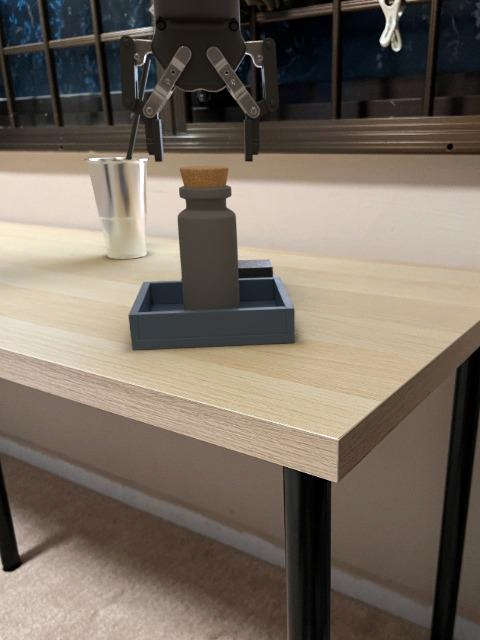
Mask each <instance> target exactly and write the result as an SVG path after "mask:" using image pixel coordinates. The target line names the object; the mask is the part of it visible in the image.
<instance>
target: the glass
mask: <svg viewBox="0 0 480 640" xmlns="http://www.w3.org/2000/svg"><path fill="white" fill-rule="evenodd" d="M150 66H151V58H149V57H146V58H145V63H144V64H143V65H142V72H141V76H140V83H139V86H138V99H140V100H142V101H144V97H145V92H146V86H147V81H148V76H149V71H150ZM133 113H134V115H133V120H132V125H131V129H130V130H131V131H130V135H129V140H128V144H127V145H128V147H127V151H126V156H125V157H95V158H84V159H83V161H84V162H86V164H87V169H88V173H89V177H90V182H91V187H92V191H93V195H94V196H93V197H94V201H95V205H96V209H97V215H98V217H99V221H100V224H101V225H100V226H101V231H102V235H103V240H104V244H105V249H106V252H107V254H106V255H107V257H108V258H110V259H114V260H131V259H139V258H143V257H146V256H147V255H148V252H147V214H148V209H147V207H148V202H147V201H148V198H147V197H148V194H147V193H148V192H147V191H148V187H147V186H148V183H147V182H148V181H147V179H148V177H147V176H148V175H147V174H148V173H147V171H148V169H147V167H148V161H149V160H150V158H149V157H133V154H134V149H135V144H136V138H137V134H138V128H139V123H140V118H141V115H140V114H137V113H135V112H133Z"/></svg>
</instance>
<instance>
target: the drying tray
mask: <svg viewBox="0 0 480 640" xmlns="http://www.w3.org/2000/svg"><path fill="white" fill-rule="evenodd" d="M239 303H240V308H236V309H210V310H184V300H183V287H182V281H181V280H162V281H161V280H157V281H155V280H154V281H153V280H152V281H143V282H142V284H141V286H140V289H139V291H138V293H137V295H136V298H135V299H134V302H133V304H132V306H131V308H130V311H129V312H128V324H129V332H130V340H131V341H130V342H131V349H132V350H133V351H143V350H162V349H163V350H164V349H165V350H166V349H183V348H185V349H186V348H188V349H189V348H208V347H228V346H229V347H230V346H233V347H234V346H249V345H251V346H252V345H272V344H273V345H275V344H295V327H296V326H295V306H294V305H293V302H292V300H291V298H290V296H289V294H288V292H287V290H286V287H285V285H284V283H283V281H282V279H281V277H280V276H276V277H271V278H241V279H239Z"/></svg>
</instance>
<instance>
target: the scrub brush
mask: <svg viewBox="0 0 480 640" xmlns="http://www.w3.org/2000/svg"><path fill="white" fill-rule="evenodd" d="M238 274H239V279H241V278H271V277H277V275H276V274H275V271H274V267H273V265H272V262H271V260H270V259H269V258H268V259H238ZM180 281H182V278H181V279H180Z"/></svg>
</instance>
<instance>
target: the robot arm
mask: <svg viewBox="0 0 480 640" xmlns="http://www.w3.org/2000/svg"><path fill="white" fill-rule="evenodd" d="M152 1H153V2H152V3H153V15H154V18H153V19H154V32H153V36H152V38H151V39H143V38H142V39H139V38H132V37H131V36H130V35H128V34H125V35H122V36H121V37H120V38H119V63H120V86H121V88H120V91H121V105H122V108H124V109H125V110H127V111H129V112H133V113H137V114H140V117H141V118H142V119H143V122H144V134H145V145H146V151H147V154H148V156H154V162H155V163H162V162H163V163H164V161H165V157H164V156H165V155H164V142H163V130H162V119H160V118H159V114H160V112H161V111H162V109H163V108H164V106H165V105H166V103H167V101H168V100H169V99H170V97H171V96H172V94H173V93H174V91H175V89H176V88H177V89H179V90H181V91H183V92H185V93H187V92H188V93H193V92H197V91H200V90H202V91H206V92H208V93H219V92H221V91H223V90H224V89H225V88H226V89H227V90H228V92H229V93H230V95H231V96H232V98H233V99H234V101H235V102H236V103H237V104H238V105H239V107H240V108H241V109H242V111H243V113H244V114H245V119H243V148H244V149H243V150H244V151H243V152H244V154H243V155H244V162H245V163H246V162H247V163H249V162H250V163H252V162H253V161H254V156H259V153H260V149H261V147H260V146H261V144H260V141H261V140H260V120H261V119H262V117H263V116H264V115H266V114H270V113H271V112H275V111H276V110H278V109H279V107H280V97H279V95H280V94H279V83H278V82H279V79H278V64H277V47H276V42H275V40H274V39H273V38H271V37H266V38H264V39H263V40H251V41H249V40H248V41H245V39H244V36H243V35H242V31H241V13H240V10H241V9H240V0H152ZM149 54H152V55H153V57H154V58H155V59H156V61H157V63H158V64H159V65H160V67H161V68H162V70H163V71H164V72H163V74H162V75H161V77H160V78H159V80H158V82H157V84H155V87H154V89H153V91H152V93H151V95H150V96H149V97H148V99H147V101H144V100H143V101H142V100H140V99H138V92H139V73H138V67H143V66H144V63H145V58H147V56H148V55H149ZM246 55H249V56H250V57H251V59H252V62H253V64H254V66H255V67H256V68H261V80H262V93H263V99H262V100H258V101H257V102H256V101H255V100H254V98H253V97H252V95H251V94H250V92H249V91H248V89H247V87H246V86H245V84H244V83H243V82H242V80H241V79H240V78H239V76H238V75H237V73H236V71H237V70H238V68H239V66H240V65H241V63H242V62H243V60H244V58H245V56H246Z"/></svg>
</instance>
